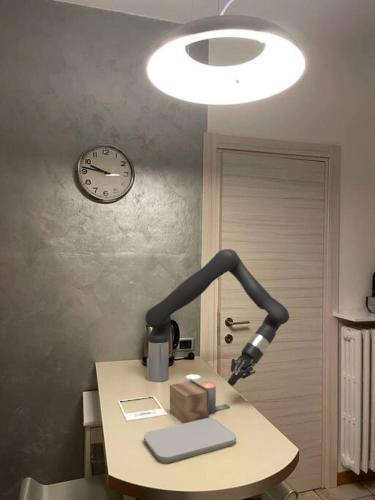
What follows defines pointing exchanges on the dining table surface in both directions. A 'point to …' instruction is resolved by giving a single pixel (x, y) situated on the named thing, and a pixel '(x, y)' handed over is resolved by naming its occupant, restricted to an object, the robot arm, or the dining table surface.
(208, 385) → the push knob
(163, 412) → the photo frame
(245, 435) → the dining table surface
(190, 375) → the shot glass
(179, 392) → the brown rectangular block
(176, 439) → the tablet
